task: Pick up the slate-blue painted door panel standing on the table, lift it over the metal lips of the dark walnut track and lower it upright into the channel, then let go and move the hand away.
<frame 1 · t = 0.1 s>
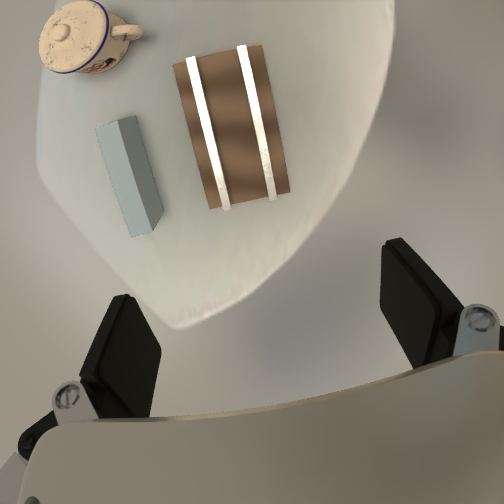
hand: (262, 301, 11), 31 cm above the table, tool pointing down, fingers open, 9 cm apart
door panel: (139, 167, 38), on the table
bottom track: (233, 127, 37), on the table
teacup with lid: (111, 42, 30), on the table
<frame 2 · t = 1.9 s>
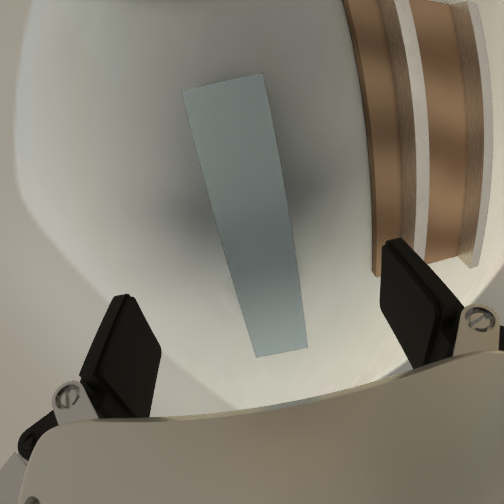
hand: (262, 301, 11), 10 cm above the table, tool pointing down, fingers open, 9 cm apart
door panel: (250, 193, 19), on the table
bottom track: (435, 136, 17), on the table
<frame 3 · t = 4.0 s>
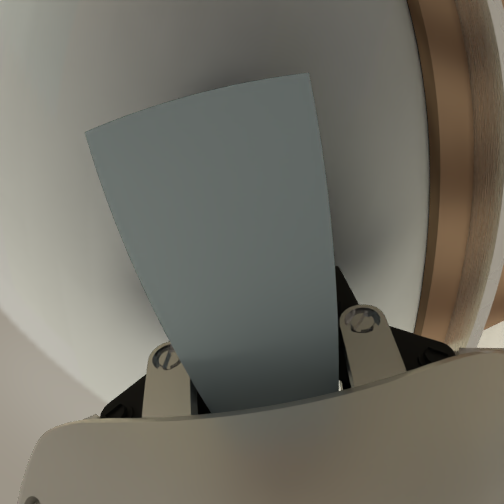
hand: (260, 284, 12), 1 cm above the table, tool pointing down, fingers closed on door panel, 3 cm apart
door panel: (258, 268, 13), on the table, touching gripper
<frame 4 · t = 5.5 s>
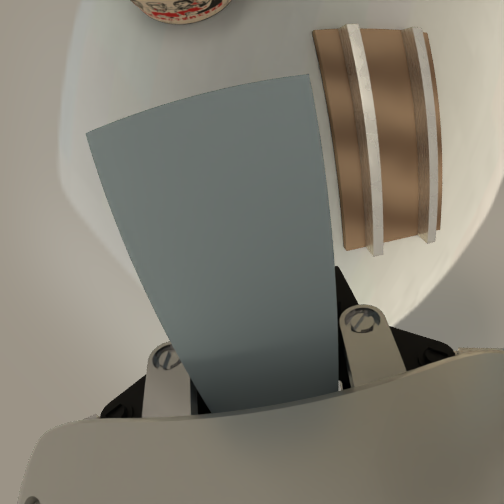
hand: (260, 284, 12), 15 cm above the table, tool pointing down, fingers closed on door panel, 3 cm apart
door panel: (258, 268, 13), point 14 cm above the table, touching gripper
bottom track: (389, 137, 24), on the table
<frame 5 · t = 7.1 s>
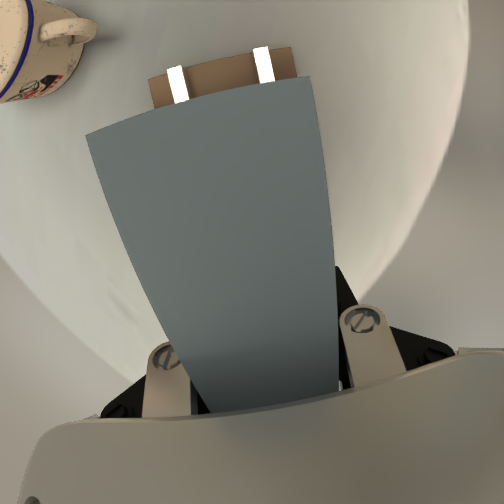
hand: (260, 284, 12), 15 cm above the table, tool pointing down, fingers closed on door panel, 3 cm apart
door panel: (258, 269, 13), point 14 cm above the table, touching gripper
bottom track: (245, 178, 25), on the table
teacup with lid: (59, 48, 18), on the table
when the fingers open (3 cm above the table, at t = 9.3 s): door panel drops 1 cm, resting on bottom track.
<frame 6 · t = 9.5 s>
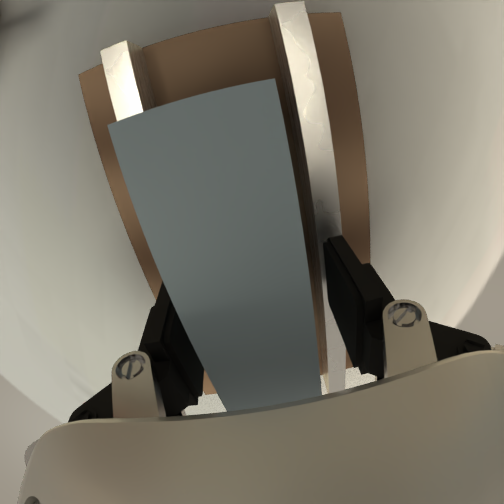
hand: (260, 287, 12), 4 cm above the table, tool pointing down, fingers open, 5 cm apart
door panel: (253, 252, 14), point 1 cm above the table, touching bottom track
bottom track: (254, 245, 15), on the table
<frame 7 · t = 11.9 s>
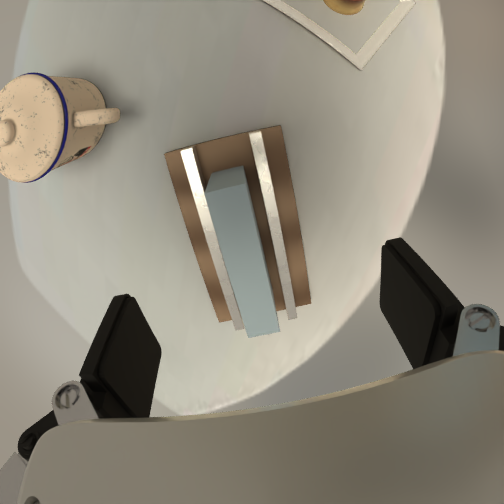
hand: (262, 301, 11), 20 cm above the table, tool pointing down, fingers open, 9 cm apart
door panel: (244, 236, 31), point 1 cm above the table, touching bottom track
bottom track: (245, 233, 32), on the table
teacup with lid: (84, 117, 25), on the table
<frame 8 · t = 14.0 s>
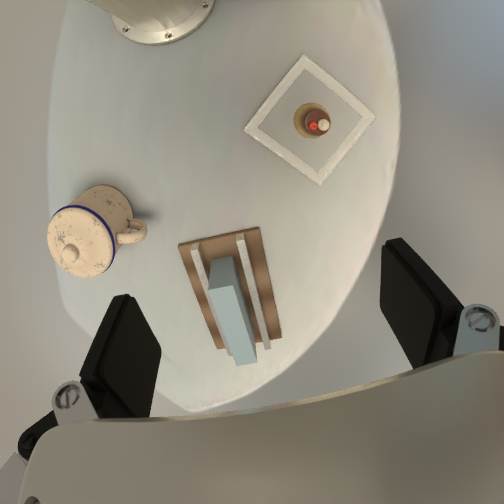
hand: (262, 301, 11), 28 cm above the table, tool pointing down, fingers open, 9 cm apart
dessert: (310, 120, 35), on the table
door panel: (234, 297, 45), point 1 cm above the table, touching bottom track
bottom track: (235, 294, 46), on the table
teacup with lid: (115, 214, 39), on the table
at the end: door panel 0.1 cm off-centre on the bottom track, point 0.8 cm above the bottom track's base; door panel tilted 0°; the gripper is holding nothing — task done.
